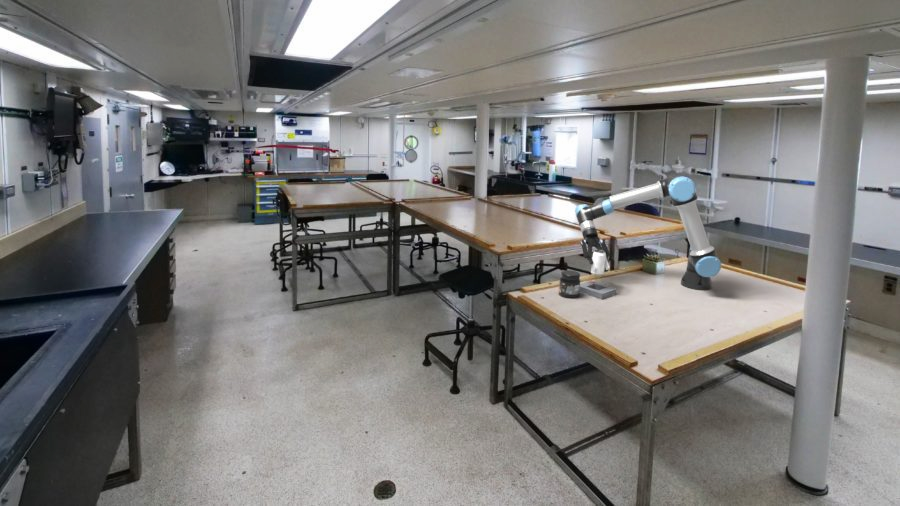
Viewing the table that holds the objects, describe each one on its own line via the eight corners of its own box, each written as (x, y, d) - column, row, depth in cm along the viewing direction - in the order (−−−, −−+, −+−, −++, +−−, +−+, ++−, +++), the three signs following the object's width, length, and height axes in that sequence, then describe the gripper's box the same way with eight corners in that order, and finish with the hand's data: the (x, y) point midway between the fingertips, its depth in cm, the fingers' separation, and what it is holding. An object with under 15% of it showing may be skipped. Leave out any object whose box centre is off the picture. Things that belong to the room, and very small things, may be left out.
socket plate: (616, 294, 243) (617, 287, 242) (601, 299, 235) (602, 292, 234) (590, 285, 255) (591, 279, 254) (575, 290, 247) (576, 283, 246)
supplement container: (559, 290, 247) (561, 268, 244) (579, 293, 244) (582, 271, 240) (556, 296, 237) (558, 274, 234) (578, 299, 234) (580, 277, 231)
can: (590, 274, 241) (592, 251, 237) (591, 270, 246) (594, 248, 243) (603, 275, 238) (606, 253, 235) (604, 272, 244) (606, 250, 241)
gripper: (601, 234, 254) (615, 271, 243) (569, 235, 250) (581, 273, 239) (608, 226, 248) (622, 264, 237) (575, 227, 243) (587, 266, 233)
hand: (601, 269), depth 238 cm, fingers closed on can, 6 cm apart
